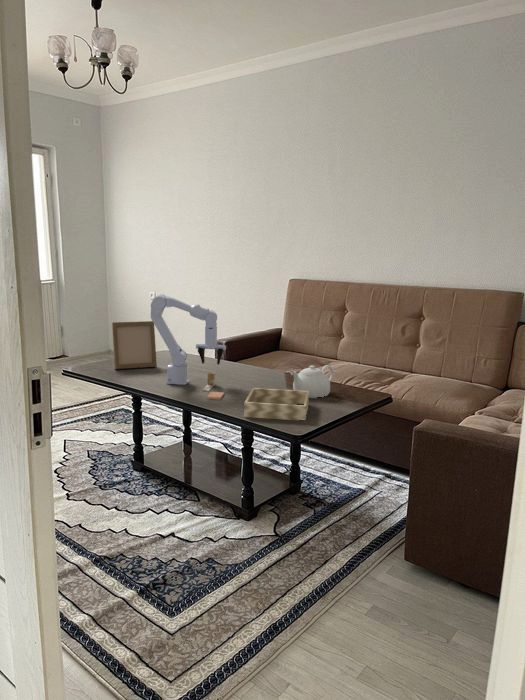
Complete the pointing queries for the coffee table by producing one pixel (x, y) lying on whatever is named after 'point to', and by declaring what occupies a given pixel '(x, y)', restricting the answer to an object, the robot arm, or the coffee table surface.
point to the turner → (210, 382)
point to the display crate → (276, 410)
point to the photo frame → (134, 344)
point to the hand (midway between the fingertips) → (210, 363)
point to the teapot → (313, 381)
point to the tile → (215, 395)
